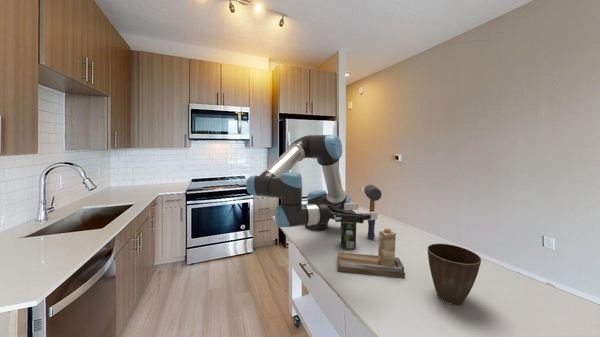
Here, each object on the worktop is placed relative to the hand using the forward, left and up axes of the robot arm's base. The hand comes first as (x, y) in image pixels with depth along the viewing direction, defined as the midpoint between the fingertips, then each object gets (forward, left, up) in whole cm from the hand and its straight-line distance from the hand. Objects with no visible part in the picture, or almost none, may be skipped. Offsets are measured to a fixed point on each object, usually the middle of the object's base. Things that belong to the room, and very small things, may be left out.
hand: (366, 210), depth 91 cm
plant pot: (+11, +27, -26) cm, 39 cm away
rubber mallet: (-36, +7, -26) cm, 45 cm away
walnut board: (-5, +2, -26) cm, 26 cm away
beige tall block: (-4, +9, -24) cm, 26 cm away
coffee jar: (-24, -6, -26) cm, 36 cm away
